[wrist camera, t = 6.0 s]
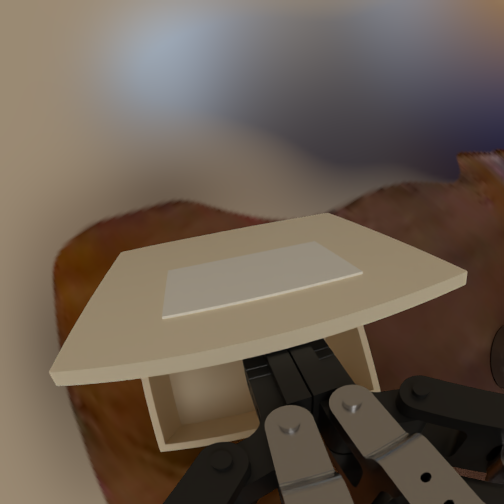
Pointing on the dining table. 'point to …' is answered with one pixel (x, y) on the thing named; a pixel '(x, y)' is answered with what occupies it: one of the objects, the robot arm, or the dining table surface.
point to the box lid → (244, 297)
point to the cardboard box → (231, 396)
